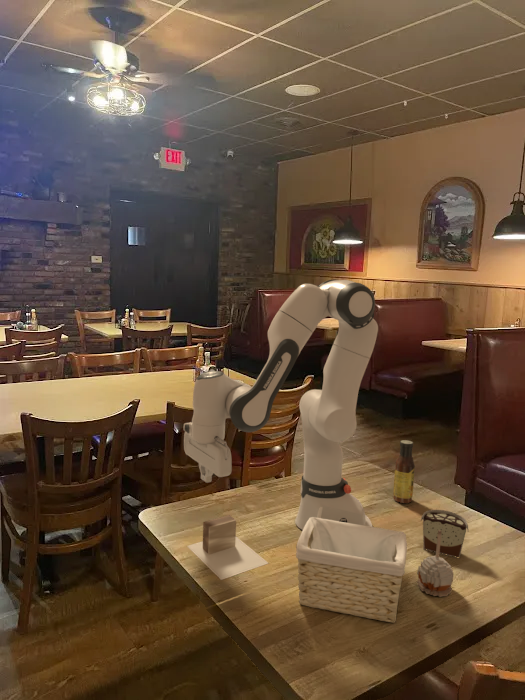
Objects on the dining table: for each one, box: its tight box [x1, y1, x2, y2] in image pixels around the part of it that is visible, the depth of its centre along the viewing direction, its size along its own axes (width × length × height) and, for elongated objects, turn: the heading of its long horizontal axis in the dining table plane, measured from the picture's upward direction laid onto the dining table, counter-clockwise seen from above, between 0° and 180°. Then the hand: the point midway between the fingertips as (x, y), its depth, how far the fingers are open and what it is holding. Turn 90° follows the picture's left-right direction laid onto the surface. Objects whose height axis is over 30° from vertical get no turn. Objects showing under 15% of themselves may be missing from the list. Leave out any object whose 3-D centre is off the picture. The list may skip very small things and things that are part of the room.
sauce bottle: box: [392, 439, 416, 504], centre depth 178 cm, size 6×6×20 cm
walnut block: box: [202, 514, 237, 555], centre depth 145 cm, size 4×8×8 cm, turn 125°
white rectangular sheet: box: [186, 536, 269, 581], centre depth 142 cm, size 18×14×1 cm
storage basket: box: [295, 517, 408, 623], centre depth 126 cm, size 24×16×15 cm
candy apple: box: [416, 530, 454, 598], centre depth 131 cm, size 8×8×15 cm
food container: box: [420, 509, 469, 558], centre depth 150 cm, size 12×6×10 cm, turn 65°
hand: (206, 480), depth 148 cm, fingers closed
